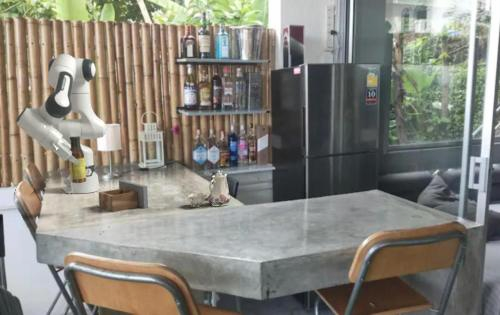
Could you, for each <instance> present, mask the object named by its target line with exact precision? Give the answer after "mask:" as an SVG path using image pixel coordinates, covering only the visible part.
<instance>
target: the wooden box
mask: <svg viewBox="0 0 500 315" xmlns="http://www.w3.org/2000/svg"><path fill="white" fill-rule="evenodd" d="M98 205H99V206H98V207H99V208H100V209H104V210H106V211H108V212H112V213H115V212H120V211H121V212H122V211H125V210H129V209H130V210H131V209H135V208H138V196H137V192H136V191H132V190H128V189H124V188H122V189H119V188H117V189H110V190H105V191H99V192H98Z"/></svg>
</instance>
